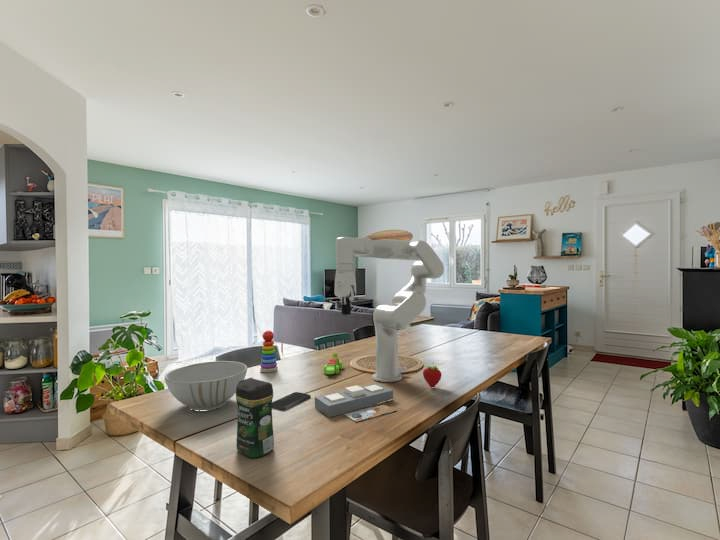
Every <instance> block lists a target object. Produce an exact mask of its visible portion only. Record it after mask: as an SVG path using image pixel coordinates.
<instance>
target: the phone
mask: <svg viewBox="0 0 720 540" xmlns="http://www.w3.org/2000/svg"><path fill="white" fill-rule="evenodd" d="M309 399H311V394H307V393H304V392H298V391H294V392H292V393H290V394H288V395H285V396H283V397H280V398H279V399H277V400H274V401H272V410H274V409H275V410H279V411H287V410H290V409H291V408H293V407H295V406H297V405H299V404H301V403H303V402H305V401H307V400H309Z"/></svg>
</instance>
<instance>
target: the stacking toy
mask: <svg viewBox="0 0 720 540" xmlns="http://www.w3.org/2000/svg"><path fill="white" fill-rule="evenodd" d="M274 337H275V335H274V332H273V331H271V330H265V331H264V332H263V333H262V339H263V342H262V345H263V346H262V347H261V348H262V351H261V353H262V354H261V361H260V362H261V363H260V364H259V365H260V368H259V371H260V372H261V373H265V374H268V373H274V372H277V370H278V369H279V368H278V363H277V357H276V356H277V353H276V349H275V345H274V344H275V341H274V340H273V339H274Z"/></svg>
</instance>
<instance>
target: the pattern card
mask: <svg viewBox="0 0 720 540" xmlns="http://www.w3.org/2000/svg"><path fill="white" fill-rule="evenodd" d="M373 407H374V406H369V407H366V408H362V409H358V410H354V411H350V412H347V413H344V416H345V415H346V416H345V417H347V416H348V417H349V418H348V417H347V418H348V419H350V418H351V419H352V420H351V419H350V420H351V421H353V420H356V419H358V418H361V417H362V419H365V418H368V417H370V416H372V417H373V414H375V413H376V411H374V410H373ZM374 409H375V408H374ZM367 415H368V416H367Z"/></svg>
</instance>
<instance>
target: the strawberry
mask: <svg viewBox="0 0 720 540" xmlns="http://www.w3.org/2000/svg"><path fill="white" fill-rule="evenodd" d="M432 364H433V365H432V366H431V365H428V366H427V367H425V368H424V369H423V371H422V375H423V379H424V381H426V384H428V385H429V388H431V387H434V388H435V386H437V384H438V383H439V382H440V381H441V378H442V376H443V375H442V372H441V371H440V368H439V367H437V366H438V365H434V362H432Z"/></svg>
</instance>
